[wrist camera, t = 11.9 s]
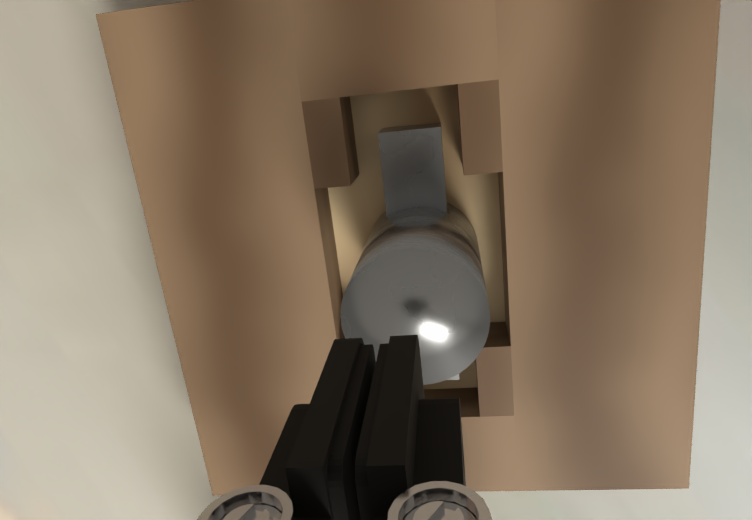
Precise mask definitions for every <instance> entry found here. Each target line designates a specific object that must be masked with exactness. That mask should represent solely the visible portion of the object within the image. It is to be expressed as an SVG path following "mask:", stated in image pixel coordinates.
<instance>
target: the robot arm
mask: <svg viewBox="0 0 752 520" xmlns="http://www.w3.org/2000/svg"><path fill="white" fill-rule="evenodd" d="M197 520H492V517H491V514H490V511H489V509H488V507H487V505H486V503H485V501H484V499H483V498H482V497H481V496H479V495H478V494H477V493H476V492H475V491H474V490H472V489H470V488H468V487H466V479H465V463H464V449H463V435H462V422H461V410H460V399H459V398H435V399H425V397H424V387H423V377H422V367H421V357H420V347H419V339H418V335H401V336H390V339H389V343H386V344H380V346H379V351H378V355H377V360H375V352H374V347H373V344H367V345H364V342H363V339H362V338H347V339H335V340H334V341H333V344H332V347H331V349H330V352H329V354H328V357H327V360H326V362H325V365H324V367H323V370H322V373H321V375H320V378H319V381H318V383H317V386H316V388H315V391H314V394H313V396H312V399H311V401H310V404H296V405H294V406H293V408H292V409H291V411H290V414H289V416H288V418H287V421H286V423H285V425H284V428H283V430H282V432H281V435H280V437H279V439H278V442H277V444H276V446H275V449H274V451H273V453H272V456H271V458H270V460H269V463H268V465H267V467H266V470H265V472H264V474H263V477H262V479H261V481H260V484H259V485H250V486H246V487H241V488H237V489H235V490H233V491H230V492H228V493H226V494H224V495H222V496H221V497H219V498H218V499H216V500H215V501H213V502H212V503H211V504H210V505H209V506H208V507H207V508H206V509H205V510H204V511H203V512H202V513H201V515H200V516H199V517H198V519H197Z"/></svg>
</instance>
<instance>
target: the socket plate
mask: <svg viewBox="0 0 752 520" xmlns="http://www.w3.org/2000/svg"><path fill="white" fill-rule="evenodd" d="M719 15H720V0H192V1H185V2H178V3H171V4H164V5H157V6H150V7H143V8H136V9H129V10H122V11H115V12H108V13H101V14H96V17H97V22H98V26H99V30H100V34H101V38H102V42H103V46H104V50H105V54H106V59H107V63H108V67H109V71H110V75H111V79H112V83H113V87H114V91H115V95H116V100H117V104H118V108H119V112H120V116H121V120H122V124H123V128H124V132H125V136H126V141H127V145H128V149H129V153H130V157H131V161H132V165H133V169H134V173H135V178H136V182H137V186H138V190H139V194H140V198H141V202H142V206H143V210H144V214H145V219H146V223H147V227H148V231H149V235H150V239H151V243H152V247H153V251H154V255H155V260H156V264H157V268H158V272H159V276H160V280H161V284H162V288H163V292H164V297H165V301H166V305H167V309H168V313H169V317H170V321H171V325H172V329H173V333H174V338H175V342H176V346H177V350H178V354H179V358H180V362H181V366H182V370H183V374H184V379H185V383H186V387H187V391H188V395H189V399H190V403H191V407H192V411H193V416H194V420H195V424H196V428H197V432H198V436H199V440H200V444H201V448H202V452H203V457H204V461H205V465H206V469H207V473H208V477H209V481H210V485H211V489H212V493H213V495H224V494H226V493H228V492H230V491H233V490H235V489H237V488H241V487H246V486H250V485H259V484H260V481H261V479H262V477H263V474H264V472H265V470H266V467H267V465H268V463H269V460H270V458H271V456H272V453H273V451H274V449H275V446H276V444H277V442H278V439H279V437H280V435H281V432H282V430H283V428H284V425H285V423H286V421H287V418H288V416H289V414H290V411H291V409H292V408H293V406H294V405H296V404H310V401H311V399H312V396H313V394H314V391H315V388H316V386H317V383H318V381H319V378H320V375H321V373H322V370H323V367H324V365H325V362H326V360H327V357H328V354H329V352H330V349H331V347H332V344H333V341H334V340H335V339H345V337H344V334H343V330H342V326H341V315H340V314H341V304H342V299H343V296H344V293H345V290H346V288H347V286H348V283H349V281H350V279H351V276H352V274H353V272H354V270H355V267H356V265H357V263H358V261H359V258H360V256H361V254H362V251H363V249H364V247H365V245H366V242H367V240H368V238H369V235H370V233H371V231H372V229H373V227H374V225H375V223H376V221H377V220H378V219H379V217H380V216H381V215H382V214H383V213H384V212H385V211H386V206H385V197H384V187H383V178H382V169H381V159H380V150H379V141H378V132H379V131H380V130H381V129H382V128H388V127H398V126H408V125H418V124H428V123H438V122H441V128H442V141H443V155H444V168H445V182H446V196H447V202H448V203H450V204H452V205H453V206H455V207H456V208H458V209H459V210H460V211H461V212H462V213H463V214H464V215H465V216H466V217H467V218H468V220H469V221H470V223H471V224H472V226H473V228H474V230H475V233H476V236H477V240H478V246H479V251H480V257H481V263H482V269H483V275H484V280H485V286H486V292H487V298H488V303H489V310H490V327H489V333H488V337H487V340H486V343H485V345H484V347H483V349H482V351H481V352H480V354H479V355H478V357H477V358H476V359H475V360H474V361H473V362H472V364H471V365H469V366H468V367H467V368H466V369H465V370H463V371H462V372H460V373H459V380H444V381H441V382H438V383H434V384H428V385H423V387H424V397H425V399H435V398H459V399H460V410H461V422H462V435H463V449H464V463H465V479H466V487H468V488H470V489H472V490H474V491H536V490H609V489H681V488H689V477H690V462H691V446H692V431H693V415H694V400H695V385H696V369H697V354H698V338H699V323H700V308H701V292H702V277H703V261H704V246H705V231H706V215H707V200H708V185H709V169H710V154H711V138H712V123H713V108H714V92H715V77H716V61H717V46H718V31H719Z"/></svg>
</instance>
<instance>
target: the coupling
mask: <svg viewBox="0 0 752 520" xmlns="http://www.w3.org/2000/svg"><path fill="white" fill-rule="evenodd" d="M378 141H379V150H380V159H381V169H382V178H383V187H384V197H385V206H386V211H385V212H384V213H383V214H382V215H381V216H380V217H379V219H378V220H377V221H376V223H375V225H374V227H373V229H372V231H371V233H370V235H369V238H368V240H367V242H366V245H365V247H364V249H363V251H362V254H361V256H360V258H359V261H358V263H357V265H356V267H355V270H354V272H353V274H352V276H351V279H350V281H349V283H348V286H347V288H346V290H345V293H344V296H343V299H342V304H341V314H340V315H341V326H342V330H343V334H344V337H345V339H347V338H362V339H363V342H364V345H367V344H373V347H374V352H375V360H377V355H378V351H379V346H380V344H386V343H389V339H390V336H401V335H418V339H419V347H420V357H421V367H422V377H423V385H428V384H434V383H438V382H441V381H444V380H459V373H460V372H462V371H463V370H465V369H466V368H467V367H468V366H469V365H471V364H472V362H473V361H474V360H475V359H476V358H477V357H478V355H479V354H480V352H481V351H482V349H483V347H484V345H485V343H486V340H487V337H488V333H489V327H490V310H489V303H488V298H487V292H486V286H485V280H484V275H483V269H482V263H481V257H480V251H479V246H478V240H477V236H476V233H475V230H474V228H473V226H472V224H471V223H470V221H469V220H468V218H467V217H466V216H465V215H464V214H463V213H462V212H461V211H460V210H459V209H458V208H456V207H455V206H453V205H452V204H450V203H448V202H447V196H446V182H445V168H444V155H443V141H442V128H441V122H438V123H428V124H418V125H408V126H398V127H388V128H382V129H381V130H380V131H379V132H378Z"/></svg>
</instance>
